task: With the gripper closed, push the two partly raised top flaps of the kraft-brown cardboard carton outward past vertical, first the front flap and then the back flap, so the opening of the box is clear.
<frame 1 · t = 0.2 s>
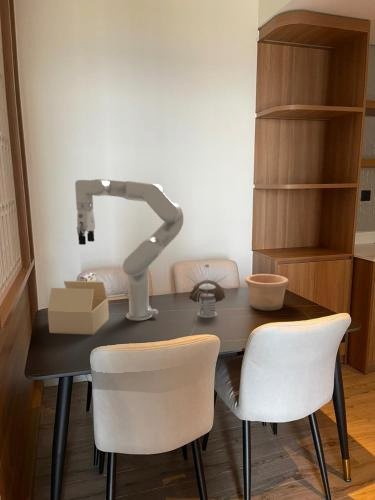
hand: (86, 242, 180), 36 cm above the table, tool pointing down, fingers open, 9 cm apart
french press: (206, 314, 186), on the table
candy bar box: (89, 304, 204), on the table
back flap: (85, 289, 180), point 15 cm above the table, hinge at 65.0°
front flap: (70, 299, 164), point 15 cm above the table, hinge at 65.0°
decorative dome: (207, 297, 216), on the table
pottery: (266, 305, 199), on the table
carton: (80, 325, 174), on the table
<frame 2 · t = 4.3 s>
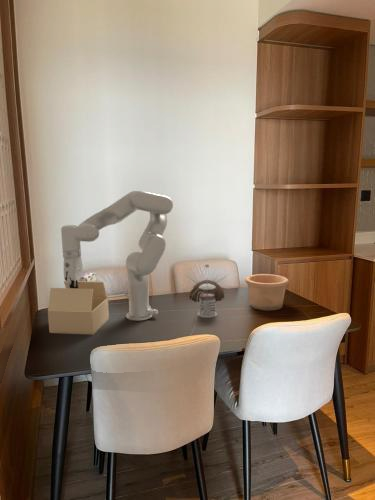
hand: (74, 294, 167), 16 cm above the table, tool pointing down, fingers closed
front flap: (70, 299, 163), point 15 cm above the table, hinge at 68.7°, touching gripper
everything else where it was.
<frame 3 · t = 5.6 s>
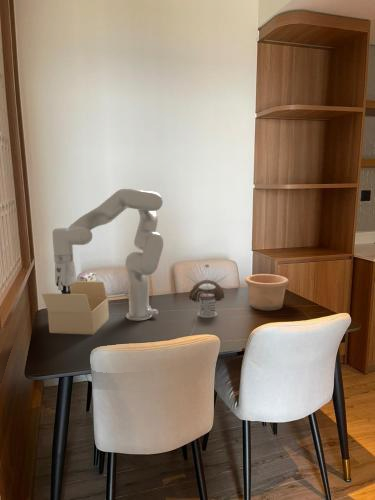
hand: (66, 300, 160), 15 cm above the table, tool pointing down, fingers closed
front flap: (66, 303, 160), point 14 cm above the table, hinge at 113.9°, touching gripper
everything else where it was.
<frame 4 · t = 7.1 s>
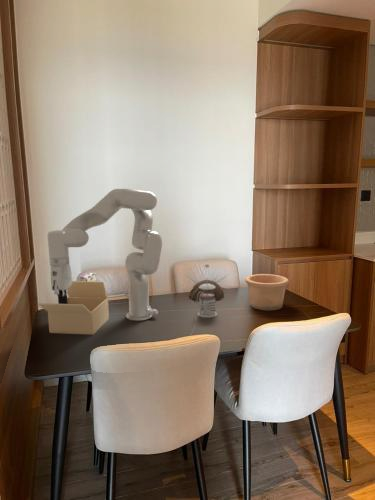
hand: (63, 304, 156), 15 cm above the table, tool pointing down, fingers closed
front flap: (64, 308, 158), point 13 cm above the table, hinge at 142.6°, touching gripper
everything else where it was.
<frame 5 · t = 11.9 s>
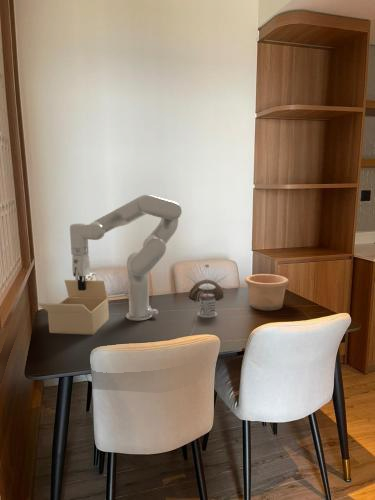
hand: (82, 289, 176), 16 cm above the table, tool pointing down, fingers closed
back flap: (86, 289, 180), point 15 cm above the table, hinge at 70.3°, touching gripper
front flap: (64, 308, 158), point 13 cm above the table, hinge at 142.7°
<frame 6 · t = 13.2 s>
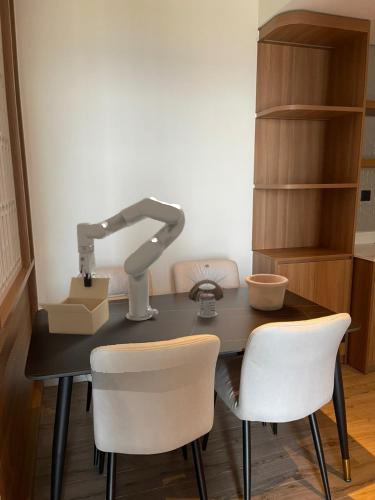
hand: (88, 286, 183), 15 cm above the table, tool pointing down, fingers closed
back flap: (89, 287, 184), point 14 cm above the table, hinge at 117.0°, touching gripper
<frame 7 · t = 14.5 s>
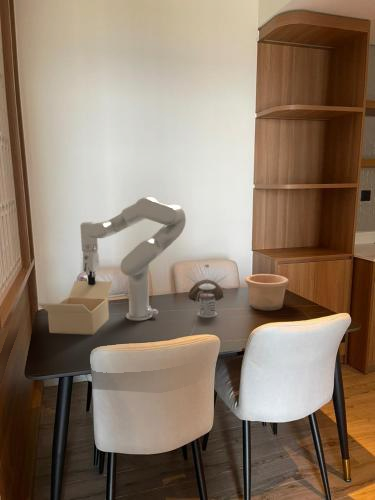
hand: (91, 284, 187), 15 cm above the table, tool pointing down, fingers closed
back flap: (90, 289, 186), point 13 cm above the table, hinge at 141.5°, touching gripper
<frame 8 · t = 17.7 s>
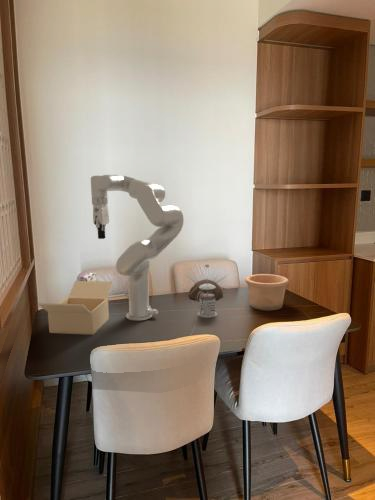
hand: (101, 238, 189), 37 cm above the table, tool pointing down, fingers closed
back flap: (90, 289, 186), point 13 cm above the table, hinge at 141.7°
at the end: front flap at +143° (first picture: +65°); back flap at +142° (first picture: +65°) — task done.
